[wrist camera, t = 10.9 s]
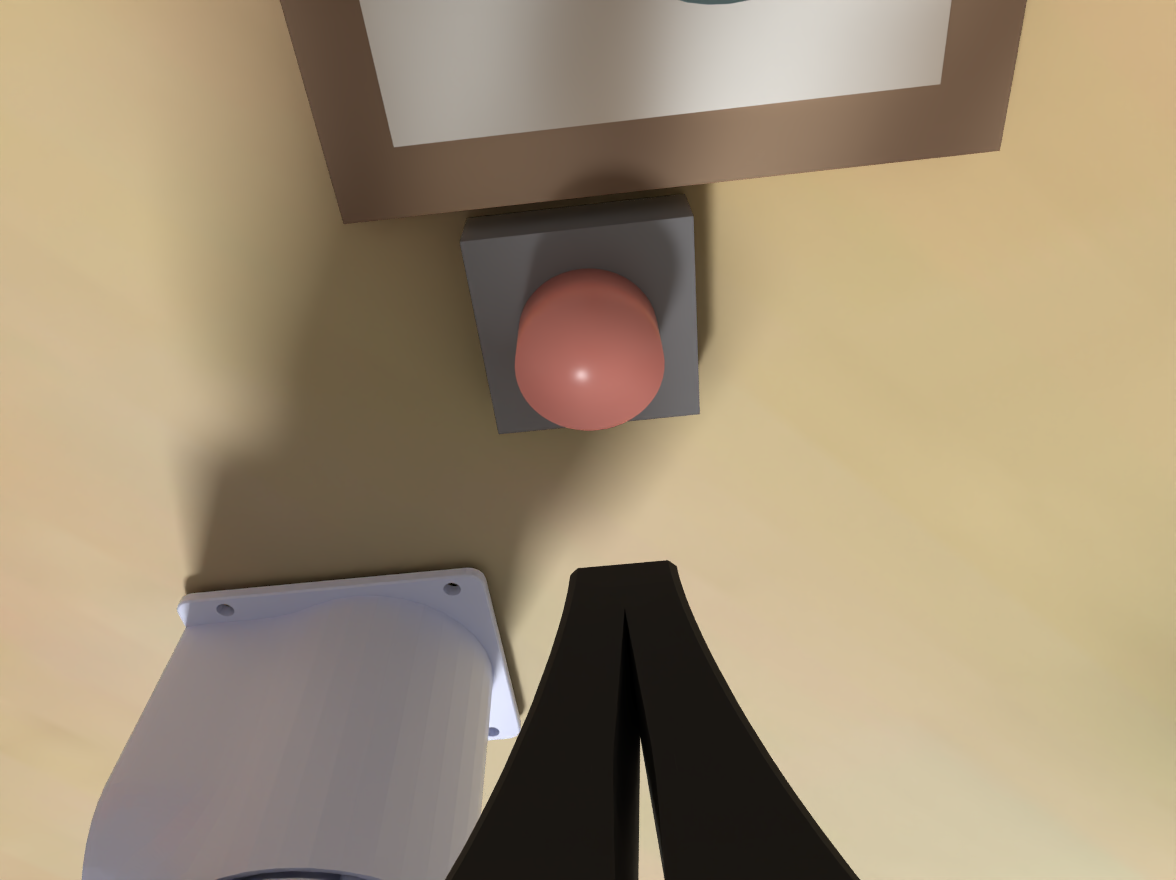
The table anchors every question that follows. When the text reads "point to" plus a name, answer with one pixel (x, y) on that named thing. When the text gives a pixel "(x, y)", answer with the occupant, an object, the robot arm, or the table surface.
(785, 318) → the table surface
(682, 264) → the button base
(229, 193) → the table surface
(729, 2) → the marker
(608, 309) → the button
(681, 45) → the sketch board
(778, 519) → the table surface
